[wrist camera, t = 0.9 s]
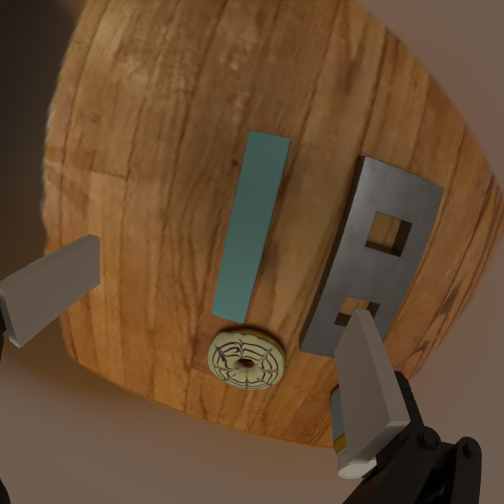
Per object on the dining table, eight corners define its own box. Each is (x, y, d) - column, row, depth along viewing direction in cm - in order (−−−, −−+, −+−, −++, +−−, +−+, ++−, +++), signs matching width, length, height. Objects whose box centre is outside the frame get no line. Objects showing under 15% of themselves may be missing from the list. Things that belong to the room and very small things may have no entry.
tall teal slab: (263, 138, 28) (250, 130, 19) (290, 145, 28) (290, 139, 19) (233, 271, 34) (211, 314, 25) (257, 277, 34) (243, 323, 24)
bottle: (380, 386, 37) (398, 461, 23) (351, 409, 40) (360, 481, 26) (349, 372, 37) (363, 454, 23) (321, 397, 39) (323, 475, 25)
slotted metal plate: (358, 156, 27) (365, 156, 25) (432, 185, 27) (444, 188, 24) (299, 336, 36) (299, 350, 33) (364, 350, 35) (368, 363, 33)
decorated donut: (207, 320, 37) (199, 335, 34) (286, 323, 36) (285, 340, 32) (216, 373, 41) (210, 390, 37) (284, 378, 39) (283, 396, 36)
